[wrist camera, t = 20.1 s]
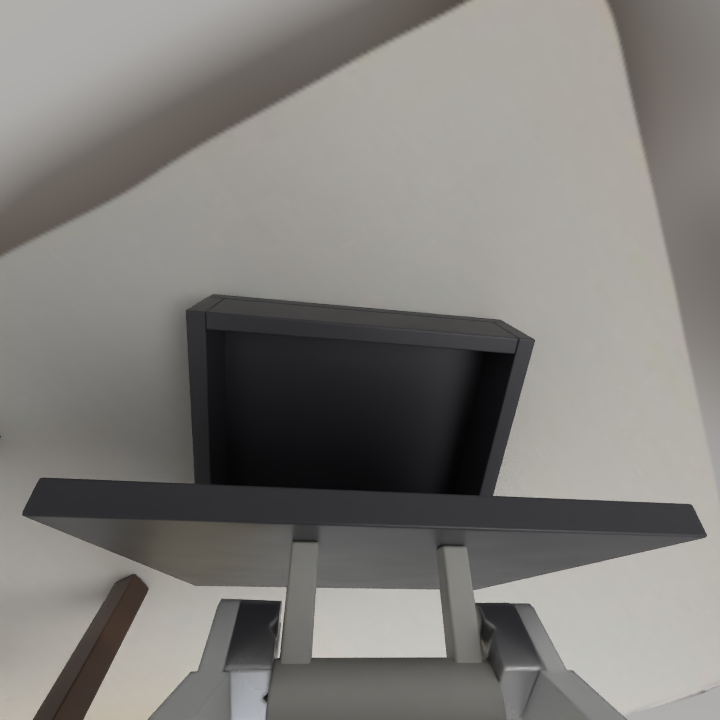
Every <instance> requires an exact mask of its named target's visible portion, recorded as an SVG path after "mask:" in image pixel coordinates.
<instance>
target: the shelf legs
mask: <svg viewBox="0 0 720 720" xmlns="http://www.w3.org/2000/svg"><path fill="white" fill-rule="evenodd" d="M0 437H1V436H0ZM148 590H149V589H148V588H147V586H146V585H145V584H144V583H143V582H142V581H141V580H140V579H139V578H138V577H137V576H136V575H132V576H130V577H128V578H125V579H123V580H121V581H119V582H116V583H115V584H114V586H113V588H112V589H111V591H110V593H109V594H108V596H107V598H106V599H105V601H104V603H103V604H102V606H101V608H100V609H99V611H98V613H97V614H96V616H95V617H94V619H93V621H92V622H91V624H90V626H89V627H88V629H87V631H86V632H85V634H84V636H83V637H82V639H81V641H80V642H79V644H78V646H77V647H76V649H75V651H74V652H73V654H72V656H71V657H70V659H69V661H68V662H67V664H66V665H65V667H64V669H63V670H62V672H61V674H60V675H59V677H58V679H57V680H56V682H55V684H54V685H53V687H52V689H51V690H50V692H49V694H48V695H47V697H46V699H45V700H44V702H43V704H42V705H41V707H40V709H39V710H38V712H37V714H36V715H35V717H34V718H33V720H83V719H84V717H85V715H86V713H87V711H88V709H89V707H90V705H91V703H92V701H93V699H94V697H95V695H96V693H97V691H98V689H99V687H100V685H101V683H102V681H103V679H104V677H105V675H106V673H107V671H108V669H109V667H110V665H111V663H112V661H113V659H114V657H115V655H116V653H117V651H118V649H119V647H120V646H121V644H122V642H123V640H124V638H125V636H126V634H127V632H128V630H129V628H130V626H131V624H132V622H133V620H134V618H135V616H136V614H137V612H138V610H139V608H140V606H141V604H142V602H143V600H144V598H145V596H146V594H147V592H148Z"/></svg>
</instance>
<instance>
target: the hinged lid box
mask: <svg viewBox="0 0 720 720" xmlns="http://www.w3.org/2000/svg"><path fill="white" fill-rule="evenodd" d="M186 321H187V340H188V360H189V379H190V398H191V417H192V437H193V456H194V475H195V484H210V485H234V486H259V487H283V488H308V489H332V490H357V491H381V492H405V493H430V494H454V495H479V496H493V493H494V489H495V486H496V482H497V478H498V475H499V471H500V467H501V464H502V460H503V456H504V452H505V449H506V445H507V441H508V438H509V434H510V430H511V427H512V423H513V419H514V416H515V412H516V408H517V405H518V401H519V397H520V393H521V390H522V386H523V382H524V379H525V375H526V371H527V368H528V364H529V360H530V357H531V353H532V349H533V346H534V342H535V340H534V339H533V338H531V337H529V336H528V335H526V334H524V333H522V332H521V331H519V330H517V329H515V328H514V327H512V326H510V325H509V324H506V323H505V322H503V321H502V320H496V319H484V318H473V317H462V316H451V315H439V314H428V313H417V312H406V311H394V310H383V309H372V308H361V307H349V306H338V305H327V304H316V303H304V302H293V301H282V300H271V299H259V298H248V297H237V296H226V295H215V294H213V295H211V296H210V297H207V298H206V299H204V300H202V301H201V302H199V303H197V304H196V305H194V306H192V307H191V308H189V309H187V310H186Z"/></svg>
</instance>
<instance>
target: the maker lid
mask: <svg viewBox="0 0 720 720" xmlns="http://www.w3.org/2000/svg"><path fill="white" fill-rule="evenodd" d="M22 515H23V516H25V517H27V518H30V519H32V520H35V521H37V522H40V523H42V524H45V525H47V526H50V527H52V528H55V529H57V530H59V531H62V532H64V533H67V534H69V535H72V536H74V537H77V538H79V539H82V540H84V541H87V542H89V543H91V544H94V545H96V546H99V547H101V548H104V549H106V550H109V551H111V552H114V553H116V554H119V555H121V556H124V557H126V558H128V559H131V560H133V561H136V562H138V563H141V564H143V565H146V566H148V567H151V568H153V569H156V570H158V571H161V572H163V573H165V574H168V575H170V576H173V577H175V578H178V579H180V580H183V581H185V582H188V583H190V584H193V585H195V586H251V587H287V592H286V602H285V612H284V622H283V632H282V642H281V652H280V658H276V659H275V661H274V666H273V672H272V678H271V684H270V685H269V690H268V698H267V707H266V716H265V720H507V718H506V710H505V704H504V699H503V695H502V691H501V687H500V684H499V681H498V679H497V676H496V674H495V671H494V669H493V668H492V666H491V664H490V663H489V662H488V661H487V660H486V659H484V658H483V656H482V649H481V642H480V635H479V628H478V621H477V615H476V608H475V601H474V594H473V590H477V589H481V588H486V587H490V586H495V585H499V584H503V583H508V582H512V581H517V580H521V579H525V578H530V577H534V576H539V575H543V574H547V573H552V572H556V571H561V570H565V569H569V568H574V567H578V566H583V565H587V564H591V563H596V562H600V561H605V560H609V559H613V558H618V557H622V556H627V555H631V554H635V553H640V552H644V551H649V550H653V549H657V548H662V547H666V546H671V545H675V544H679V543H684V542H688V541H693V540H697V539H702V538H705V537H706V536H707V534H706V532H705V530H704V528H703V526H702V524H701V522H700V520H699V518H698V516H697V514H696V512H695V510H694V508H693V506H692V505H690V504H674V503H650V502H625V501H601V500H576V499H552V498H528V497H503V496H479V495H454V494H430V493H405V492H381V491H357V490H332V489H308V488H283V487H259V486H234V485H210V484H186V483H161V482H137V481H112V480H88V479H64V478H40V479H39V480H38V482H37V484H36V486H35V488H34V490H33V492H32V494H31V496H30V498H29V500H28V502H27V504H26V506H25V508H24V510H23V513H22ZM316 588H381V589H440V594H441V604H442V613H443V623H444V633H445V643H446V652H447V658H312V642H313V626H314V610H315V593H316Z"/></svg>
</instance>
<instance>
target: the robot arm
mask: <svg viewBox="0 0 720 720" xmlns="http://www.w3.org/2000/svg"><path fill="white" fill-rule="evenodd" d="M281 608H282V601H265V600H242V599H221V601H220V603H219V605H218V607H217V610H216V613H215V616H214V620H213V623H212V626H211V629H210V633H209V636H208V639H207V642H206V646H205V649H204V652H203V655H202V659H201V662H200V665H199V668H198V671H197V672H190V673H189V674H188V676H187V677H186V678H185V679H184V680H183V681H182V682H181V683H180V684H179V685H178V687H177V688H176V689H175V690H174V691H173V692H172V693H171V694H170V695H169V697H168V698H167V699H166V700H165V701H164V702H163V703H162V704H161V705H160V706H159V708H158V709H157V710H156V711H155V712H154V713H153V714H152V715H151V716H150V717H149V719H148V720H265V716H266V707H267V698H268V690H269V685H270V684H271V678H272V672H273V666H274V661H275V659H276V658H278V650H279V641H280V629H281V623H280V618H281ZM475 608H476V615H477V621H478V628H479V635H480V642H481V649H482V656H483V658H484V659H486V660H487V661H488V662H489V663H490V664H491V666H492V668H493V669H494V671H495V674H496V676H497V679H498V681H499V684H500V687H501V691H502V695H503V699H504V704H505V710H506V718H507V720H627V719H626V718H625V717H624V716H623V715H621V714H620V713H619V712H618V711H617V710H616V709H615V708H614V707H613V706H611V705H610V704H609V703H608V702H607V701H606V700H605V699H604V698H603V697H601V696H600V695H599V694H598V693H597V692H596V691H595V690H594V689H593V688H591V687H590V686H589V685H588V684H587V683H586V682H585V681H584V680H583V679H581V678H580V677H579V676H578V675H577V674H576V673H575V672H574V671H572V670H567V669H566V668H565V666H564V664H563V662H562V660H561V658H560V656H559V654H558V653H557V651H556V649H555V647H554V645H553V643H552V641H551V639H550V638H549V636H548V634H547V632H546V630H545V628H544V626H543V624H542V623H541V621H540V619H539V617H538V615H537V613H536V611H535V609H534V608H533V607H532V606H531V605H530V604H510V603H475Z"/></svg>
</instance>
